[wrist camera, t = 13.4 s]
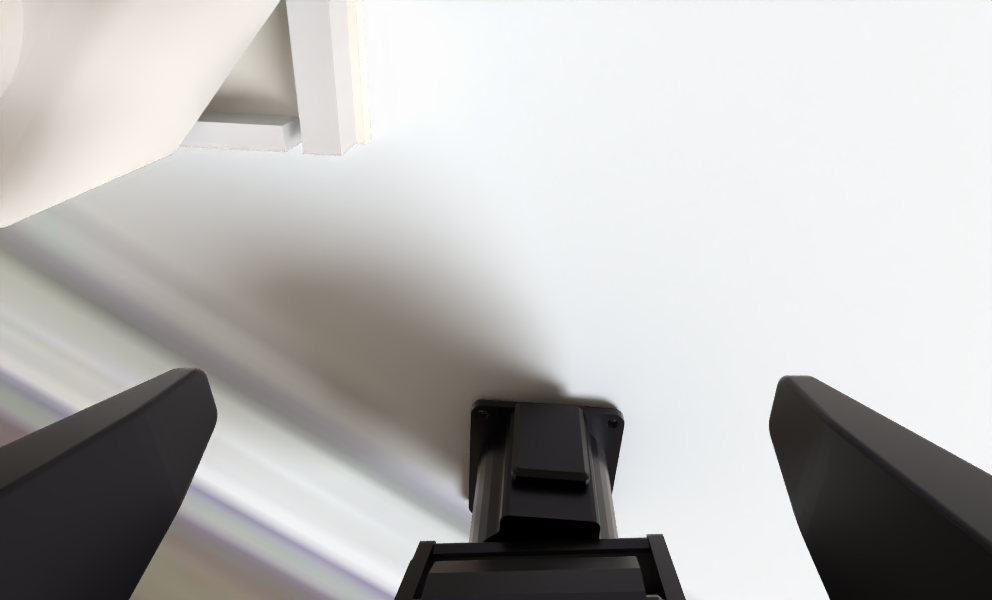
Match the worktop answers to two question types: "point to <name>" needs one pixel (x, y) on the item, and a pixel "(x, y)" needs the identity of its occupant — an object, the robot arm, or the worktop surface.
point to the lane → (295, 85)
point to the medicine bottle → (106, 87)
